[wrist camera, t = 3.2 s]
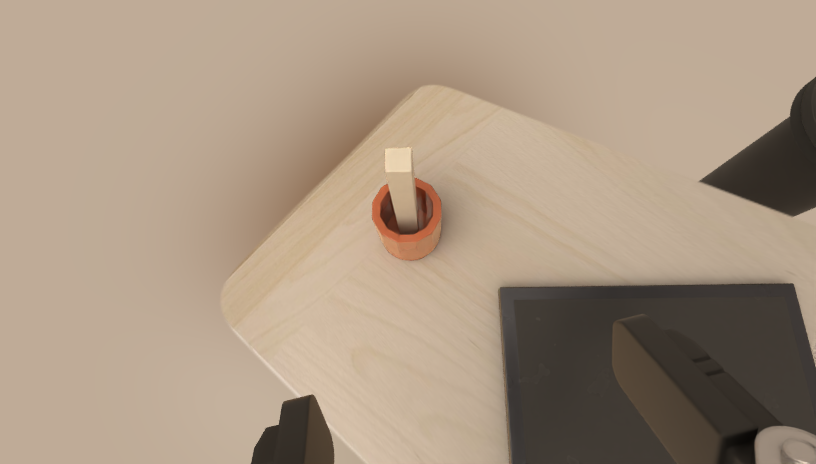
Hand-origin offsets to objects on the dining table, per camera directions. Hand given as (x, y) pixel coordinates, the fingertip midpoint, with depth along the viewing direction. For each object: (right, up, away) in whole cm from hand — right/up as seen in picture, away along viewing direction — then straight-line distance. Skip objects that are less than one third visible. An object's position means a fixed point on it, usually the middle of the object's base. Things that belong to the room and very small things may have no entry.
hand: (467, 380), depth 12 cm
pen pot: (-1, +4, +26) cm, 26 cm away
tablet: (+17, -8, +21) cm, 28 cm away
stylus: (-1, +4, +25) cm, 26 cm away
